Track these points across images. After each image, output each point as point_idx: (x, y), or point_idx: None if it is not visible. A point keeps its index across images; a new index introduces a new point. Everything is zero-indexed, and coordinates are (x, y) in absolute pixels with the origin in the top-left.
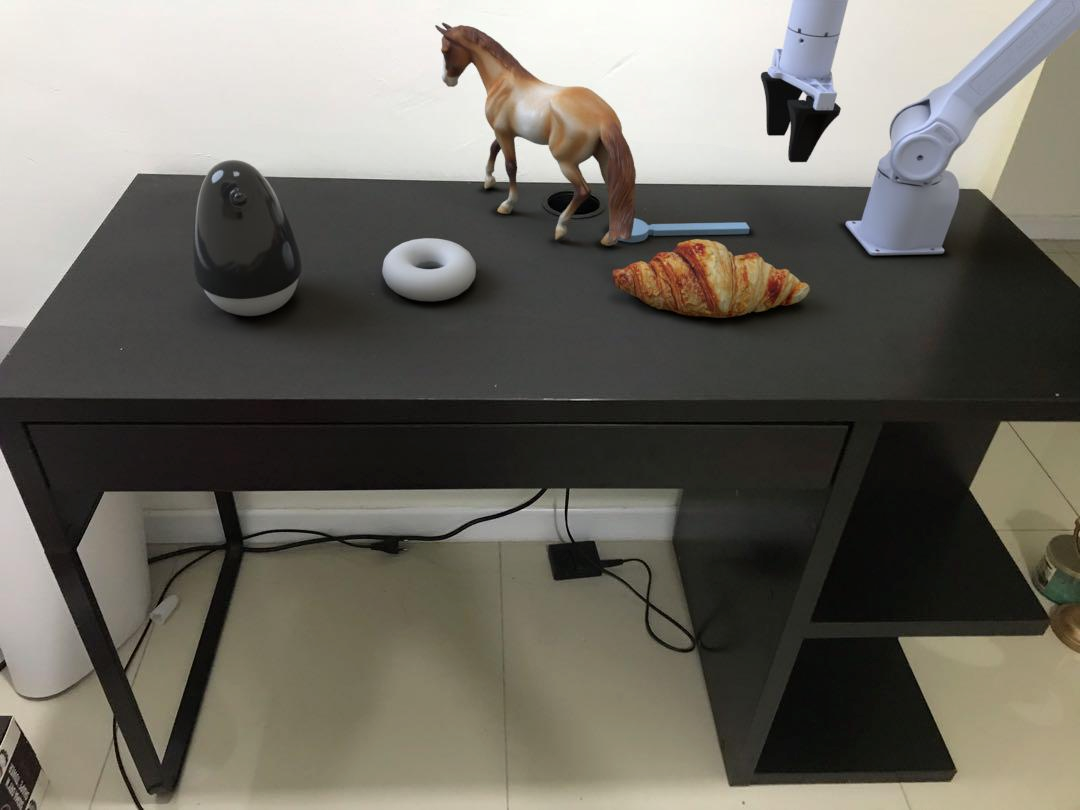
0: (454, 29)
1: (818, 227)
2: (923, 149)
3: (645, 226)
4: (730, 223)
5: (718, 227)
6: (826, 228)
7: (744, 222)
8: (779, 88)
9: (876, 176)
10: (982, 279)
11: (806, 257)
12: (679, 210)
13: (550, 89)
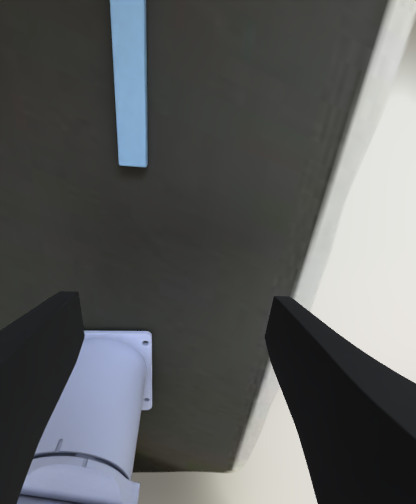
0: None
1: (147, 293)
2: None
3: None
4: (141, 129)
5: (122, 90)
6: (143, 303)
7: (144, 163)
8: (376, 482)
9: (76, 436)
10: None
11: (37, 237)
12: (242, 36)
13: None
